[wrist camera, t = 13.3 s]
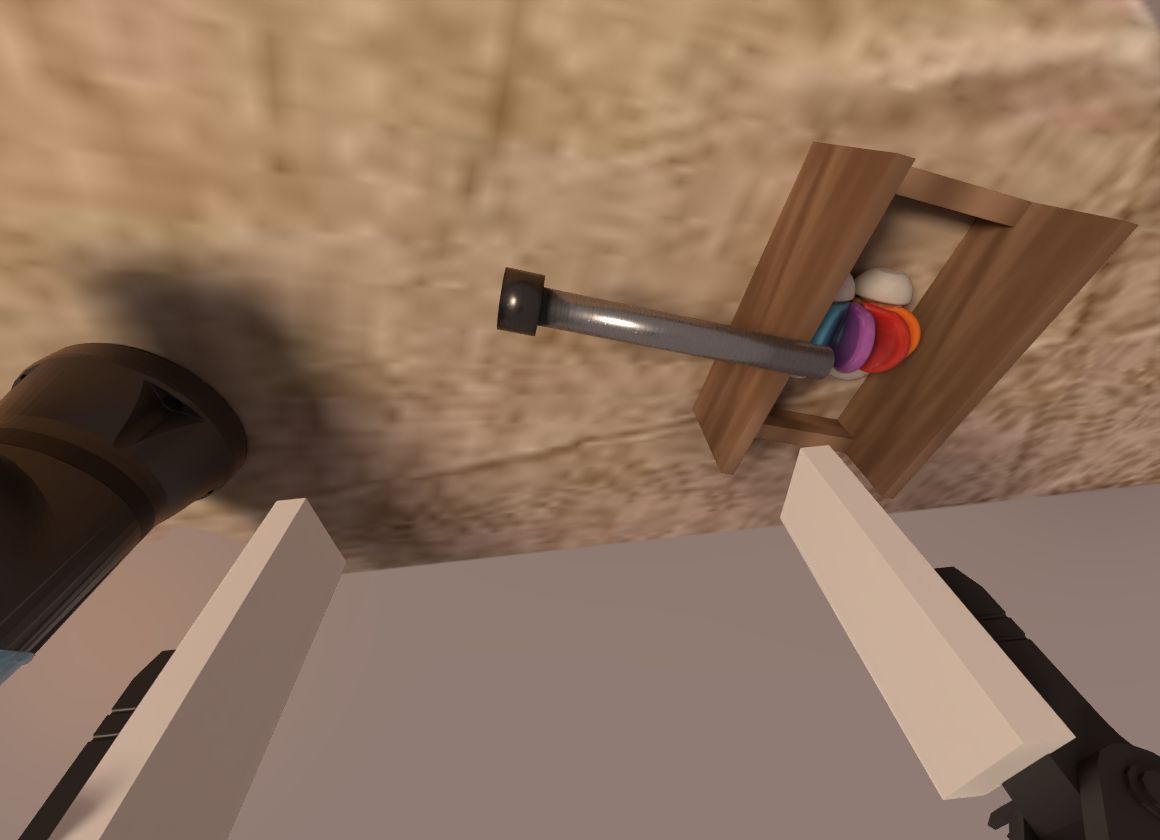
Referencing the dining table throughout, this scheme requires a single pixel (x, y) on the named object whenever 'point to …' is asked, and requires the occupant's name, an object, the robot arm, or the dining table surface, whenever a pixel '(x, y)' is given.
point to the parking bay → (945, 313)
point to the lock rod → (652, 328)
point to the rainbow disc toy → (869, 324)
